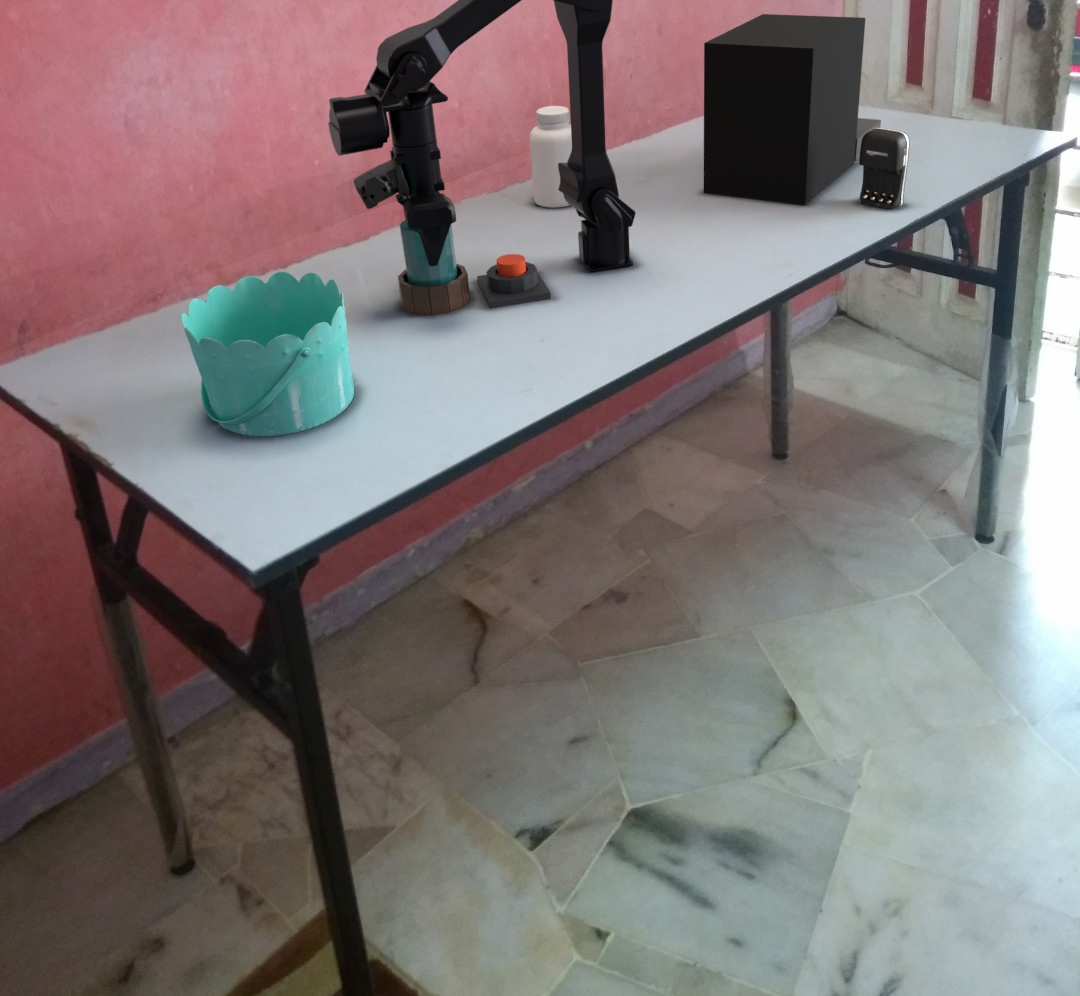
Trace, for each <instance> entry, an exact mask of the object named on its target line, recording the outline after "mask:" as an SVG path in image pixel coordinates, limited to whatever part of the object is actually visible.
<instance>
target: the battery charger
mask: <svg viewBox="0 0 1080 996" xmlns="http://www.w3.org/2000/svg"><path fill="white" fill-rule="evenodd" d="M910 146H911V145H910V137H909V135H908V134H907V132H905V131H902V130H898V129H893V128H885V127H880V128H874V129H872V130H871V131H869V132H867V133H866V134H865V135H864V136H863V138H862V142H861V148H860V158H859V159H858V165H861V166H862V185H861V190H860V194H859V202H860V203H862V204H864V205H868V206H874V207H879V208H882V209H883V208H884V209H894V208H898V207H901V206H902V205H903V204H904V196H905V189H906V188H905V186H906V181H907V173H908V166H909V158H910Z"/></svg>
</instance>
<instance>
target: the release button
mask: <svg viewBox="0 0 1080 996" xmlns="http://www.w3.org/2000/svg"><path fill="white" fill-rule="evenodd" d="M495 262H496V263H495V264H496V265H497V273H498V275H499V276H502V277H514V276H520V275H522V274H525V273H526V264H525V262H526V257H525V256H524V255H522V254H519V253H518V254H517V253H509V254H508V253H507V254H503V255H500V256H499V257H498V258H496V260H495Z"/></svg>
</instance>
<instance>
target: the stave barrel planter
mask: <svg viewBox="0 0 1080 996" xmlns="http://www.w3.org/2000/svg"><path fill="white" fill-rule="evenodd" d="M456 267H457V276H458V278H457V279H455V280H453V281H450V282H448V283H446V284H440V285H434V286H414V285H411V284H409V283H408V280H407V273H406V268H405V269H403V271H402V272H400V273H399V274H398V275H397V283H398V289H399V295H400V302H401V306H402V310H404V311H406V312H407V313H410V314H412V315H417V316H436V315H443V314H450V313H452V312H456V311H457V310H460V309H462V308H464V307H465V306H466V305H467V304H468V303H469V302H470V300H471V293H470V284H469V275H468V270H467V269H466V266H464V265H462V264H459V263H456Z"/></svg>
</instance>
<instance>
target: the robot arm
mask: <svg viewBox="0 0 1080 996" xmlns="http://www.w3.org/2000/svg"><path fill="white" fill-rule="evenodd" d="M613 1H614V0H553V4H554V9H555V13H556V18H557V21H558V24H559V26H560V28H561V30H562V34H563V35H564V38H565V39H564V40H565V42H566V53H567V71H568V72H567V73H568V91H569V94H568V96H569V117H570V124H571V137H572V151H571V154H570V157H569V159H568V162H567V163H559V164H558V169H559V174H560V185H559V189H558V190H559V191H560V192H562V193H563V195H564V198H565V200H566V202H567V203H568V204H570V205H569V206H570V207H572V208H573V209H575V211H576V214H577V216H578V217H580V218H582V220H580V224H581V225H580V226H581V231H578V233H577V239H578V253H579V254H578V255H579V257H578V258H579V260H580V261H581V262H582V264H583V265H585V267H586V268H587V269H588V271H589V272H592V273H594V272H595V273H596V272H601V271H607V270H608V271H609V270H613V269H620V268H626V267H632V266H634V261H633V259H632V258H631V257H630V227H632V226H633V224H634V220H635V217H636V211H635V210H634V209H633V208H632V207H630V205H628V204H627V203H626V202H625V201H623V200H622V199H621V198H620V194H619V187H618V183H617V178H616V177H617V176H616V172H615V170H614V168H613V166H612V163H611V161H610V158H609V155H608V154H607V148H606V147H607V146H606V121H605V120H606V118H605V117H606V116H605V115H606V114H605V90H604V89H605V87H604V86H605V85H604V83H605V82H604V57H603V54H604V53H603V43H604V38H605V35H606V34H607V31H608V28H609V25H610V22H611V19H612V10H613ZM520 2H522V0H457V1H455V2H454V3H453V4H451V5H450V6H448V7H447V8H446V9H445V10H442V11H441V12H440V13H439V14H437V15H436V16H435V17H433V18H431V19H429V20H427V21H424V22H422V23H418V24H416V25H415V24H414V25H411V26H409V27H407V28H405V29H403V30H401V31H398V32H396V33H394V34H392V35H390V36H388V37H387V38H385V39H384V40H383V41H382V42H381V43H380V44H379V45H378V47H377V52H376V57H375V58H376V59H375V60H376V66H375V68H374V69H373V72H372V74H371V76H370V78H369V80H368V81H367V84H366V86H365V88H364V93H363V94H358V95H353V96H347V97H343V96H338V97H337V96H336V97H331V98H329V100H328V102H329V108H330V109H329V113H328V119H329V122H327V124H328V130H329V135H330V138H331V142H332V146H333V149H334V151H335V153H336V154H337V156H339V157H341V156H345V155H351V154H356V153H363V152H367V151H371V150H372V151H373V150H378V149H383V147H384V144H385V143H386V144H387V143H388V140H389V139H390V137H391V143H392V146H391V150H389V155H390V160H388V161H386V162H384V163H381V164H379V165H377V166H375V167H373V168H371V169H369V170H367V171H365V172H363V173H362V174H359V175H357V176H356V177H355V178H354V179H353V184H354V188H355V190H356V192H357V193H358V195H359V197H360V199H361V201H362V202H363V204H364V206H365V207H366V209H368V210H370V209H373V208H375V207H377V206H378V205H379V203H381V202H383V201H385V200H387V199H389V198H391V197H393V196H394V197H395V199H396V201H397V203H398V204H400V205H401V206H402V208H403V215H404V220H405V221H406V224H407V226H408V228H410V229H413V230H414V231H416V232H418V233H419V235H420V238H421V241H422V244H423V247H424V250H425V253H426V256H427V259H428V262H429V265H430V266H436V265H438V263H439V259H440V256H441V253H442V250H443V247H444V243H445V240H446V237H447V234H448V232H449V229H450V226H451V225H452V224H454V223H456V222H457V214H456V206H455V204H454V203H453V201H452V199H451V198H450V197H449V196H447V195H446V194H444V193H441V191H445V190H446V188H445V182H444V179H443V178H442V173H441V165H440V160H441V159H442V154H441V150H440V149H439V148H440V147H439V146H438V140H437V131H436V123H435V116H434V106H433V105H435V104H440V103H447V102H448V100H449V96H448V95H447V94H445V93H443V91H441V90H440V89H439V88H438V87H437V85H436V83H434V82H433V81H431V80H433V78H434V77H435V76H436V75H437V74H438V73H439V72H440V71H441V70H442V69H443V68H444V66H445V64H446V63H447V62H448V60H449V58H450V57H451V55H452V54H453V53H454V52H455V50H457V49H458V48H459V47H460V46H462V45H463V44H464V43H466V42H468V41H469V40H470V39H471V38H472V37H474V36H475V35H477V34H478V33H479V32H480V31H482V30H484V29H485V28H486V27H487V26H489V25H490V24H491V23H493V22H494V21H496V20H497V19H498V18H500V17H501V16H502V15H504V14H506V12H508V11H509V10H511V9H513V7H515V6H516V5H517V4H519V3H520ZM387 114H388V115H387Z"/></svg>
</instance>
